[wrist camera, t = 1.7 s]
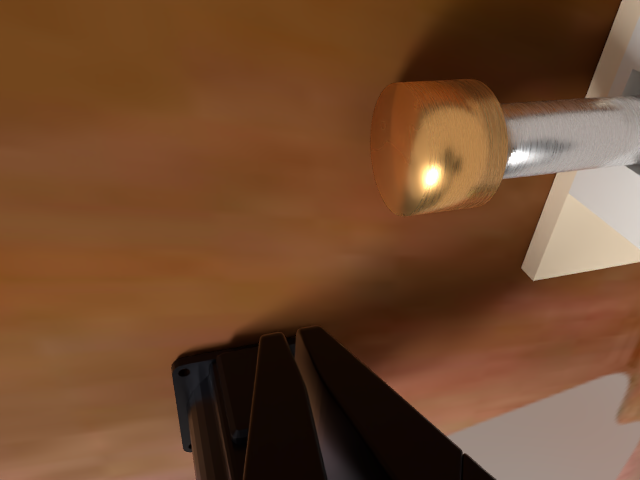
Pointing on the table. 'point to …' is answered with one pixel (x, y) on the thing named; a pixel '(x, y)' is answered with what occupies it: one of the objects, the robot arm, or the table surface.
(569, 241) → the bearing block
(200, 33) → the table surface
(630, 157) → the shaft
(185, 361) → the robot arm
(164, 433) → the table surface
